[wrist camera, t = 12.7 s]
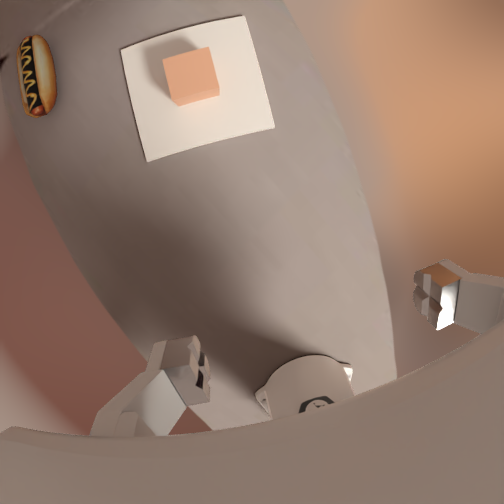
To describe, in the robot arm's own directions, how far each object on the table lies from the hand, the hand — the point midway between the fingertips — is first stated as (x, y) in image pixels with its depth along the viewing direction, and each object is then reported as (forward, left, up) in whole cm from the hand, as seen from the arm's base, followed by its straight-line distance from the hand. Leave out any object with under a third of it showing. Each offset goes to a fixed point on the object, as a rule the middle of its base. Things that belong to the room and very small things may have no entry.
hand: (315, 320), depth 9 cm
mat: (+15, +3, -28) cm, 32 cm away
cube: (+15, +3, -27) cm, 31 cm away
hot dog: (+25, +23, -28) cm, 44 cm away
